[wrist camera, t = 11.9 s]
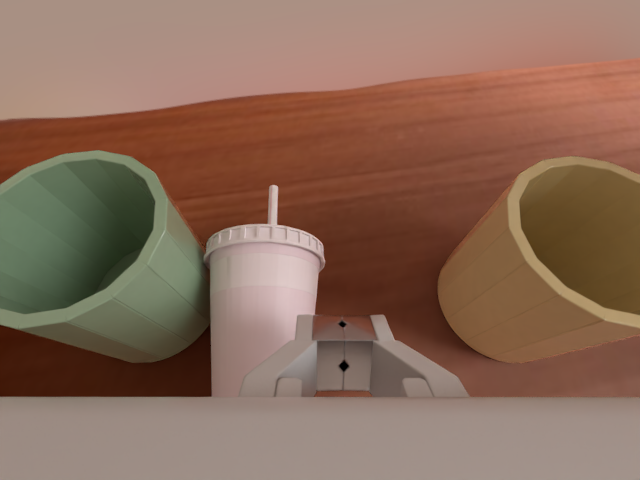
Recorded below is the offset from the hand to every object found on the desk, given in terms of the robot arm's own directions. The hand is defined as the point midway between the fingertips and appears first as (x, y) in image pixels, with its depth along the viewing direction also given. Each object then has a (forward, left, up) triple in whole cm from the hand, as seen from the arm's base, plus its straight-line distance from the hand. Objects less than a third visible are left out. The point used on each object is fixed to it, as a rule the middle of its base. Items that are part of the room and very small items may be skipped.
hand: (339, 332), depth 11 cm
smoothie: (+5, +2, -5) cm, 8 cm away
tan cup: (-11, +2, -8) cm, 14 cm away
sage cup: (+7, -9, -8) cm, 14 cm away
